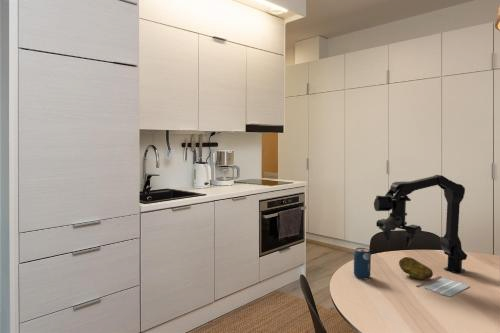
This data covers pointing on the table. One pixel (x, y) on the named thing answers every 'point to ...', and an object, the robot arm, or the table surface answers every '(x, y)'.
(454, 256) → the robot arm
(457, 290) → the mat
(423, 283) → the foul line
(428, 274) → the potato
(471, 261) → the table surface
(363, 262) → the soda can
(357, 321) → the table surface
